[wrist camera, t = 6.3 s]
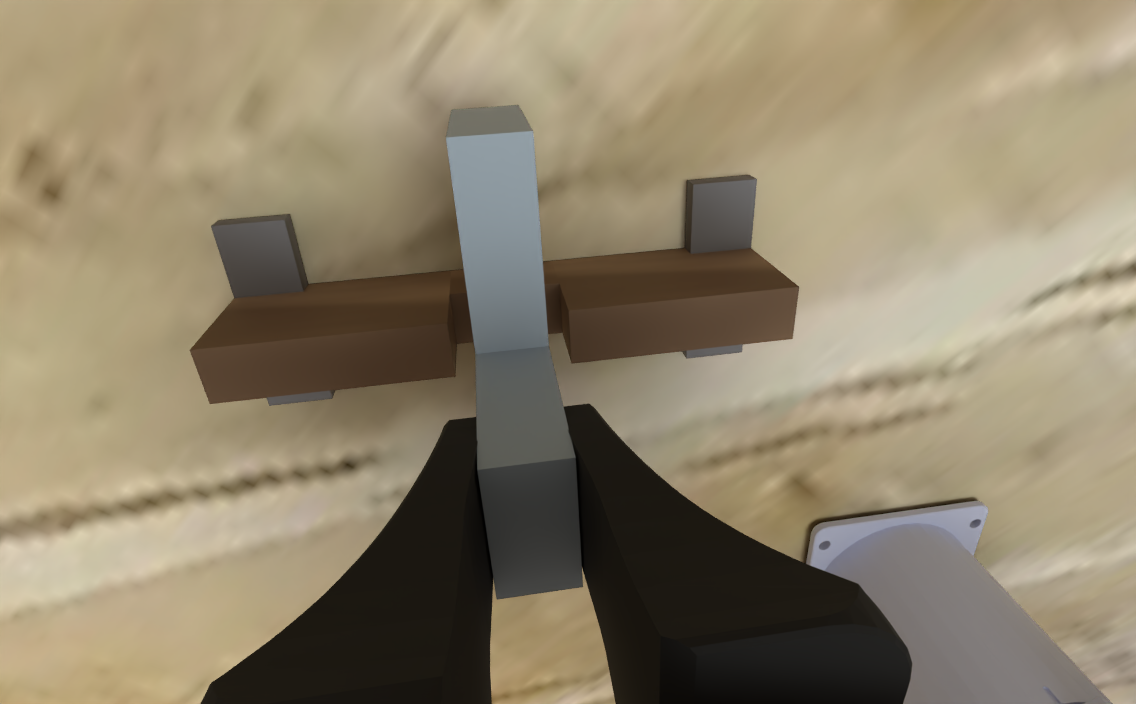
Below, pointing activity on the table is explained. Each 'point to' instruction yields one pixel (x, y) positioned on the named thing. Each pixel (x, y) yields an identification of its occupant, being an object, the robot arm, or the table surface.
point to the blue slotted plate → (498, 223)
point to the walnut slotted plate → (442, 318)
